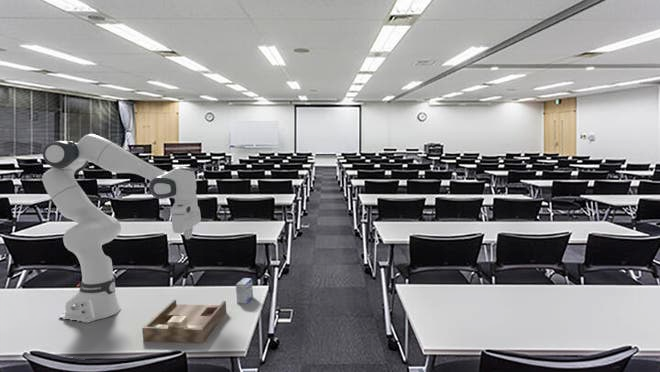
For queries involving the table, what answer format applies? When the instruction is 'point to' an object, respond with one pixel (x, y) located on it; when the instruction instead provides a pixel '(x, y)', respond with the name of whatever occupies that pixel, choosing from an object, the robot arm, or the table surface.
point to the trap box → (198, 323)
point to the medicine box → (244, 290)
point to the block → (178, 322)
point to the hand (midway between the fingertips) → (188, 238)
